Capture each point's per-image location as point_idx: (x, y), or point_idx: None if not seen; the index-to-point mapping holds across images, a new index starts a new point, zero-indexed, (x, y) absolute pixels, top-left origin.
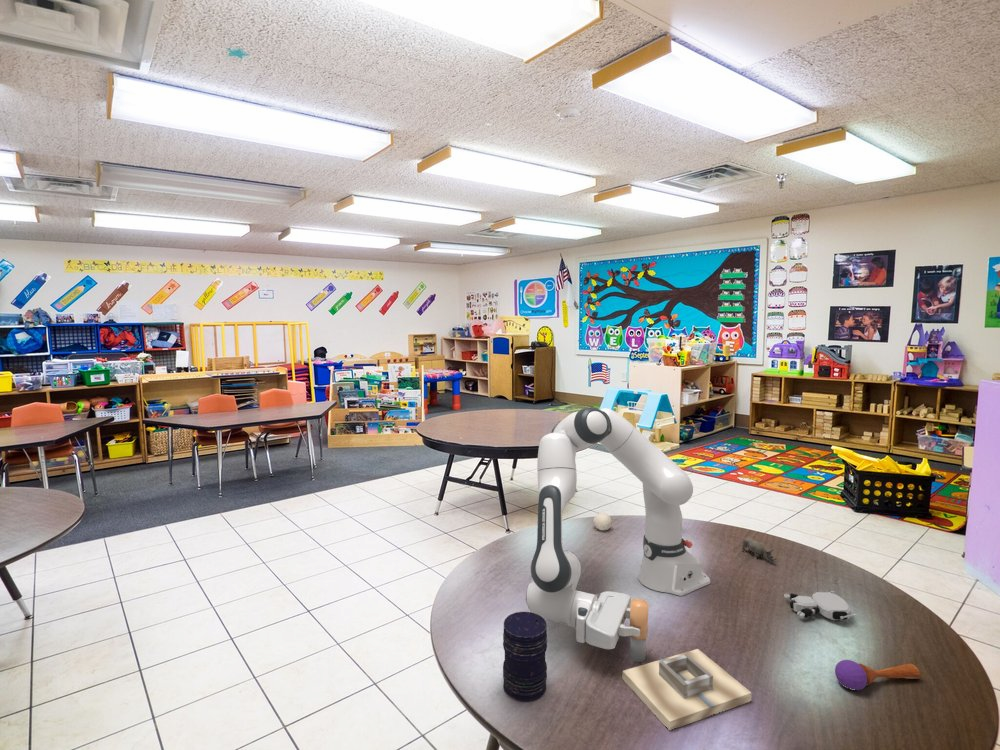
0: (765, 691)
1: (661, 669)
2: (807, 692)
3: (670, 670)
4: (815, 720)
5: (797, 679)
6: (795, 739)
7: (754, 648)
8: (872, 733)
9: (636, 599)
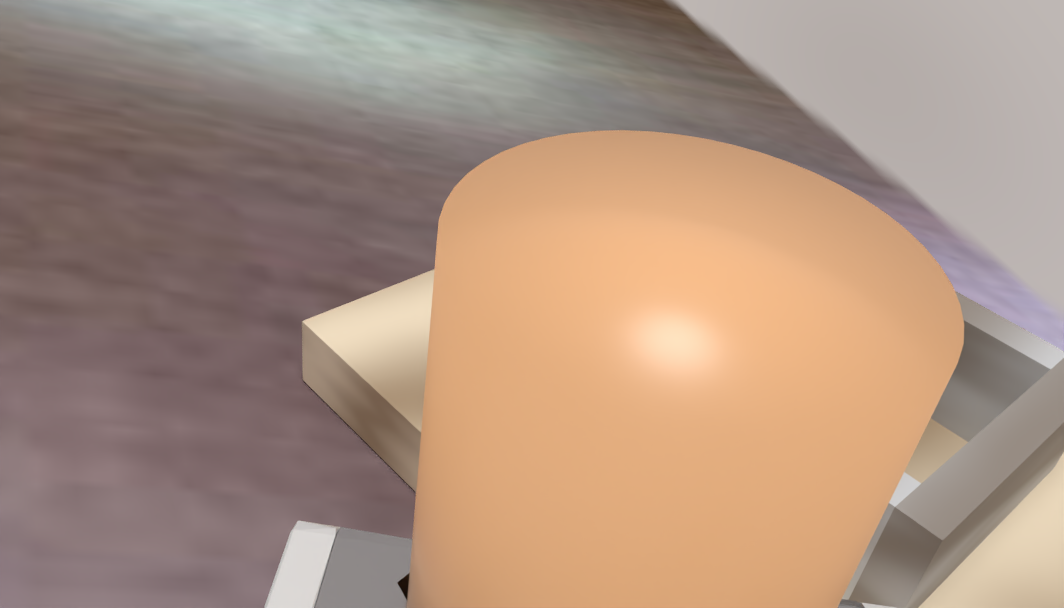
0: None
1: (942, 561)
2: (486, 60)
3: (997, 451)
4: (672, 83)
5: (396, 61)
6: (845, 148)
7: (133, 120)
8: (645, 5)
9: (518, 297)
